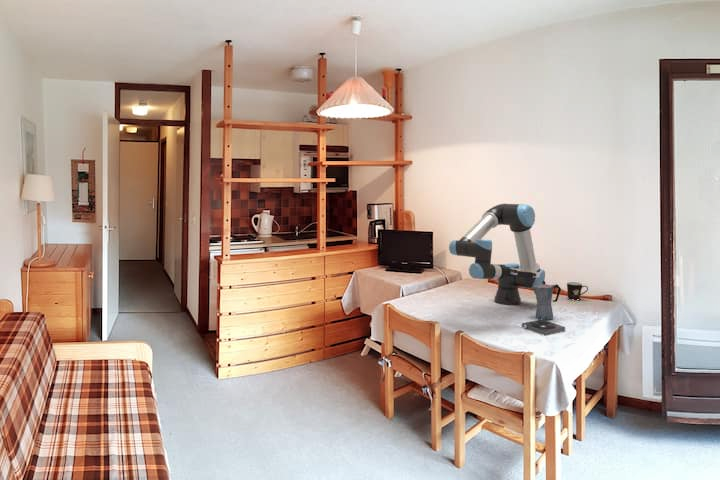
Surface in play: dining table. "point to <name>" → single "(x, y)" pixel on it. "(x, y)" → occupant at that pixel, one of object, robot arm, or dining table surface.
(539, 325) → the hot plate
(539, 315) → the moka pot
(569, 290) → the coffee mug
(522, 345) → the dining table surface
